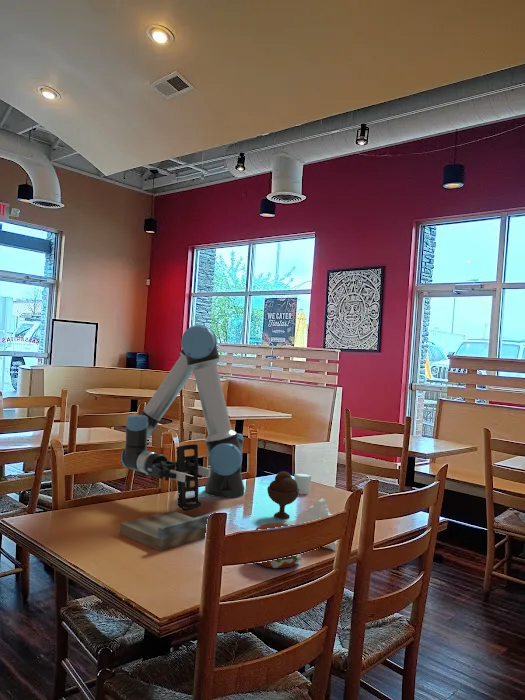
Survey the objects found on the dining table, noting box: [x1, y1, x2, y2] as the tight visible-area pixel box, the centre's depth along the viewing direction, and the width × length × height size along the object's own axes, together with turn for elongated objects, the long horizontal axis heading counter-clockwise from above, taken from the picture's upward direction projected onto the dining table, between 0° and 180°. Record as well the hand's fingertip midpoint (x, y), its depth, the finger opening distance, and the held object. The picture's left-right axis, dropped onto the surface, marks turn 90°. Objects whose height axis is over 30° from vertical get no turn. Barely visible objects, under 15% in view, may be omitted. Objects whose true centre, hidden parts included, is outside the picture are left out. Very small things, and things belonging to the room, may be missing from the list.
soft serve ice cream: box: [283, 497, 337, 552], centre depth 163 cm, size 12×15×14 cm
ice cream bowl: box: [267, 470, 299, 520], centre depth 187 cm, size 11×11×15 cm
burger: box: [255, 521, 302, 569], centre depth 147 cm, size 13×14×10 cm
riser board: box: [119, 510, 211, 552], centre depth 162 cm, size 20×18×6 cm
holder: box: [175, 443, 202, 512], centre depth 182 cm, size 11×8×20 cm
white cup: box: [293, 472, 312, 495], centre depth 222 cm, size 7×7×7 cm
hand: (197, 475), depth 179 cm, fingers closed on holder, 10 cm apart
